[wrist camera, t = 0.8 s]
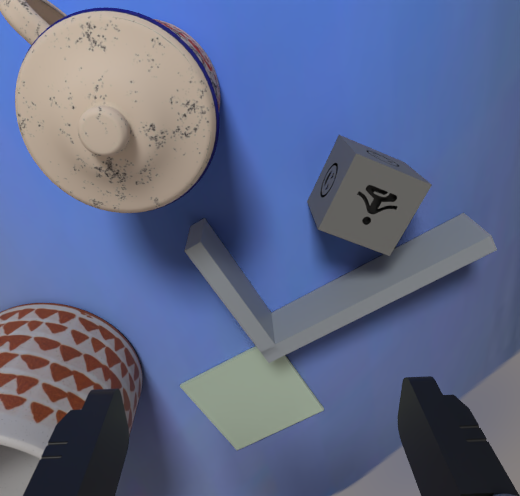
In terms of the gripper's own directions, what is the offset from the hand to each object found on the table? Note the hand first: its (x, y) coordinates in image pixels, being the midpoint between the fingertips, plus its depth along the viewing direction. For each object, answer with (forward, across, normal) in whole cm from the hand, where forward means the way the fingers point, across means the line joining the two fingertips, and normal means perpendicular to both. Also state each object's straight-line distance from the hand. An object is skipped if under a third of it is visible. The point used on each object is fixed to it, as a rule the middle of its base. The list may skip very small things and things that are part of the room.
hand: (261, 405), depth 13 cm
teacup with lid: (+20, +7, -7) cm, 23 cm away
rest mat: (+20, +1, +19) cm, 28 cm away
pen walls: (+20, -6, +4) cm, 21 cm away
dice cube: (+21, -7, 0) cm, 22 cm away
